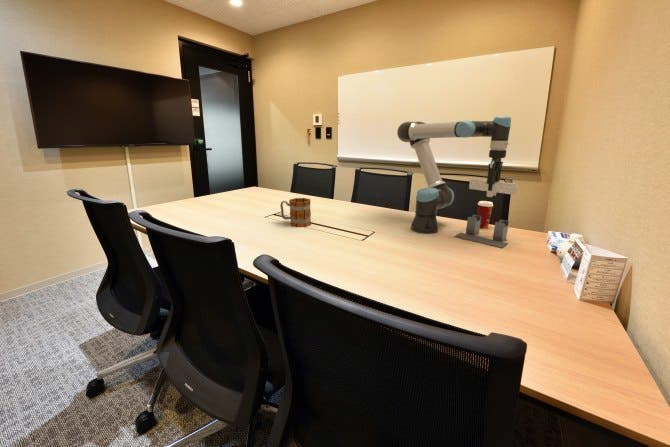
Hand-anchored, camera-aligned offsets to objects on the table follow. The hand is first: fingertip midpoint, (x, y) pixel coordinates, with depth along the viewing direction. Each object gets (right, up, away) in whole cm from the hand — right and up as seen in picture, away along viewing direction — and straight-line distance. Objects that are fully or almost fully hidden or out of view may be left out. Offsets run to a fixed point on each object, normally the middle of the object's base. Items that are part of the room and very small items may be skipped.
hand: (491, 195), depth 160 cm
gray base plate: (-5, -23, +2) cm, 24 cm away
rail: (0, +2, -1) cm, 3 cm away
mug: (-105, -15, +31) cm, 110 cm away
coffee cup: (+6, -16, +24) cm, 30 cm away
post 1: (-5, -20, +11) cm, 24 cm away
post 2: (+5, -23, +2) cm, 24 cm away
